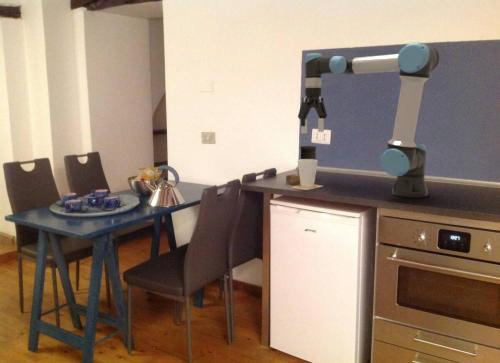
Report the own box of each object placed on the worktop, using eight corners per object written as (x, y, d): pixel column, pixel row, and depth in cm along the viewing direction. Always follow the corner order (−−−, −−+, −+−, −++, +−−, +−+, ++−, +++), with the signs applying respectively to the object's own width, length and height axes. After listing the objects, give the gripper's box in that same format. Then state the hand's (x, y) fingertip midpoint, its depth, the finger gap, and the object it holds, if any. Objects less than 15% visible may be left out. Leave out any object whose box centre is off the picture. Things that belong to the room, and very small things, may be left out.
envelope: (324, 186, 229) (324, 185, 229) (306, 190, 219) (306, 189, 219) (307, 184, 236) (307, 183, 236) (290, 187, 226) (290, 187, 226)
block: (300, 185, 233) (300, 175, 232) (292, 186, 230) (292, 176, 229) (293, 183, 237) (293, 174, 236) (286, 184, 234) (286, 175, 233)
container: (318, 179, 248) (319, 146, 245) (311, 182, 241) (312, 147, 238) (303, 178, 253) (304, 145, 250) (296, 180, 245) (296, 146, 242)
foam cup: (316, 188, 222) (316, 161, 219) (296, 188, 223) (297, 161, 221) (317, 185, 231) (317, 159, 229) (298, 184, 233) (299, 158, 230)
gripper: (321, 88, 231) (321, 130, 234) (290, 87, 213) (290, 133, 216) (334, 87, 226) (333, 131, 229) (303, 86, 208) (303, 134, 211)
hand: (312, 132), depth 223 cm, fingers open, 13 cm apart
